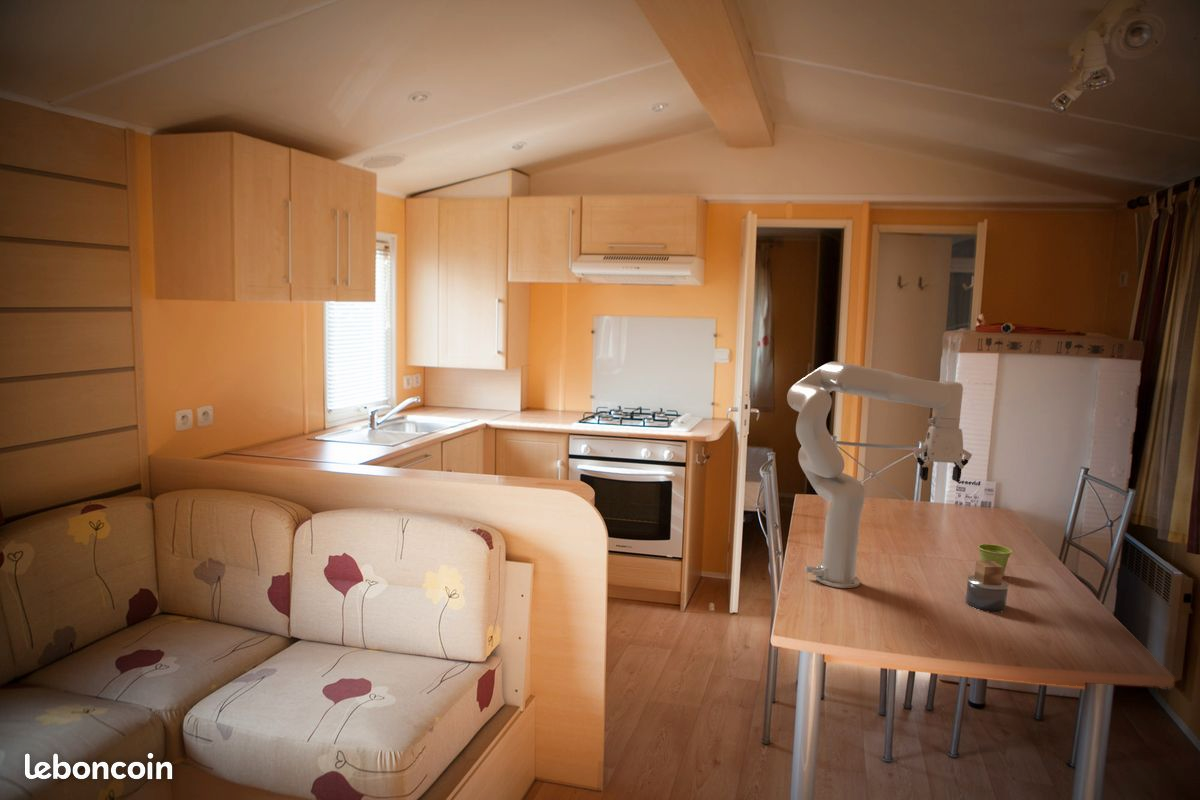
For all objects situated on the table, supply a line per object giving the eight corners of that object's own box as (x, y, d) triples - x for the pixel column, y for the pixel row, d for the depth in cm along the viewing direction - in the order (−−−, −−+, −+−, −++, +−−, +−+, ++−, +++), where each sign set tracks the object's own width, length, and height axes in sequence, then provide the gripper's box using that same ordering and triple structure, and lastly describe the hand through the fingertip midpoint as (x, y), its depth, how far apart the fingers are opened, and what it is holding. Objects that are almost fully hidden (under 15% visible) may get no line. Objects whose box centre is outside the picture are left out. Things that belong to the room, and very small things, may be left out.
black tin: (976, 612, 218) (979, 587, 217) (958, 598, 228) (960, 574, 227) (1013, 613, 218) (1016, 588, 217) (993, 599, 228) (996, 575, 228)
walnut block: (983, 584, 220) (985, 566, 219) (974, 578, 225) (976, 560, 224) (1001, 585, 220) (1003, 567, 219) (992, 578, 225) (993, 561, 224)
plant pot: (990, 581, 244) (993, 553, 243) (968, 571, 253) (971, 544, 252) (1016, 580, 246) (1019, 552, 245) (993, 569, 255) (996, 543, 254)
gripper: (922, 424, 234) (916, 482, 236) (980, 426, 235) (974, 484, 237) (911, 420, 241) (905, 476, 243) (967, 422, 242) (961, 478, 244)
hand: (939, 480), depth 240 cm, fingers open, 9 cm apart
